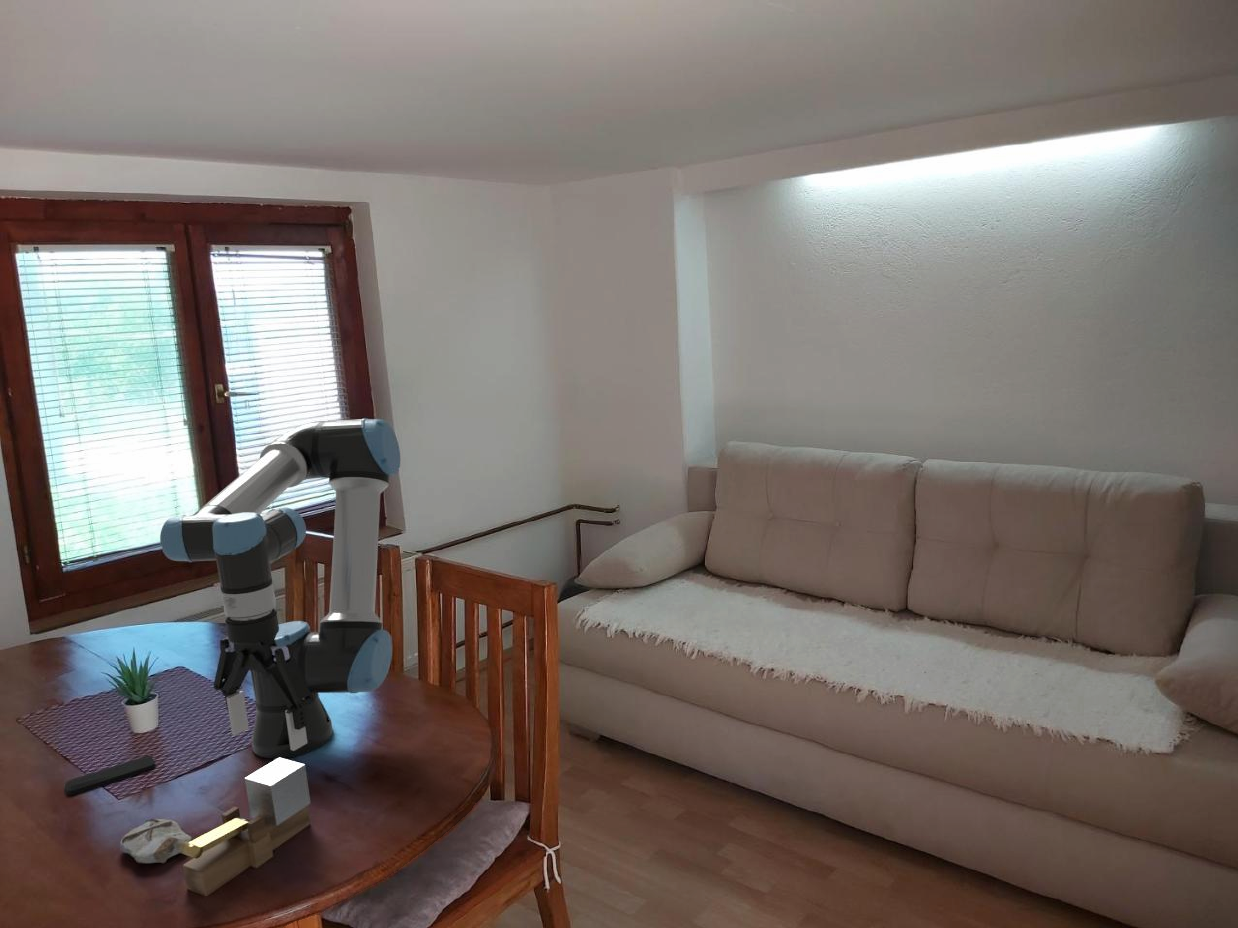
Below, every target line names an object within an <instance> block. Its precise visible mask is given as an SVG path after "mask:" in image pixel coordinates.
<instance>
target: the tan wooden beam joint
mask: <svg viewBox="0 0 1238 928" xmlns="http://www.w3.org/2000/svg"><path fill="white" fill-rule="evenodd" d="M308 806H309V805H307V806H306V807H304V808H303V809H301V810H300V811H298V812H297V813H295V814H294V815H292V816H291V817H289V818H288V819H287V820H285V821H284V822H282V823H281V824H279V825H278V826H275V825H272V824H269V823H266V822H265V820H264V816H262V815H258V816H257V817H255V818H251V820H250V821H249V822H247V828H248V829H246V830H244V831H242V832H240V833H239V834H237V835H235V836H233V837H231V838H229V839H227V840H226V841H224V842H222V843H220V844H218V845H216V846H214V847H213V848H211V849H209V850H207V851H205V852H203V853H202V855H201V856H200V857H199V858H197V859H196V858H193V857H192V858H191V859H190V860H189V861H187V862H185V863H184V864H182V868H183V872H184V874H183V875H184V877H185V885H186V890H189V891H191V892H193V893H196V894H199V895H201V896H204V897H206V898H207V897H208V896H210V895H211V894H213V893H214V892H215V891H217V890H218V889H220V888H222V887H223V886H224V885H225V884H227V883H228V882H230V881H231V880H233V879H234V878H236V877H237V876H238V875H240V874H241V873H242V872H244V871H246V870H247V869H248V868H249V867H253V868H255V869H257V868H260V866H262V865H263V864H265V863H267V862H268V861H269V860H271V858H273V857H274V850H276V849H277V848H278V847H280V846H281V845H282V844H284V843H285V842H288V840H290V839H291V838H293V837H294V836H295V835H297V834H298V833H299V832H301V831H302V830H304V829H305V828H307V827H308V826H310V825H311V819H310V813H309V807H308ZM240 814H241V812H240V808H239V807H238V806H233V807H231V808H230V809H228V810H227V811H225V812H223V813H222V814H221V819H222V825H223V824H225V823H227V822H229V821H231V820H233V818H234V817H235V816H238V817H241V815H240Z"/></svg>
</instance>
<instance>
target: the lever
mask: <svg viewBox="0 0 1238 928" xmlns="http://www.w3.org/2000/svg"><path fill="white" fill-rule="evenodd" d="M249 821H250V820H249V819H246V818H244V817H241V816H240V817H238V816H235V817H234V818H233V820H231V821H229V822H227V823H225V824H223V823H222V824H221V825H220V826H218V827H216V828H214V829H212V830H210V831H208V832H207V833H204V834H202V835H200V836H199V837H197V838H195V839H193V840H191V842H189V843H188V842H184V843H182V844H181V845H180V847H179V852H180V853H179V854H182V855H185V856H188V857H190V858H192V859H193V858H196V859H197V858H199V857H200V856H201V855H202V853H203V852H205V851H207V850H209V849H211V848H213V847H214V846H216V845H218V844H220V843H222V842H224V841H226V840H227V839H229V838H231V837H233V836H235V835H237V834H239V833H240V832H242V831H244V830H246V829H248V828H247V822H249Z"/></svg>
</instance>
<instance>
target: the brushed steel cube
mask: <svg viewBox="0 0 1238 928" xmlns="http://www.w3.org/2000/svg"><path fill="white" fill-rule="evenodd" d="M308 783H309V782H308V776H307V771H306V764H305V763H301V762H297V761H295V760H290V759H288V758H280V757H279V758H277V759H273V761H271V762H269V763H268V764H266V765H264V766H263V767H260V768H259V769H257V770H256V771H254V772H252V773H251V774H249V775H248V776H246V777H244V784H245V790H246V795H247V802H248V809H249V815H250V818H251V819H254V818H255V817H257V816H258V815H262V816H264V820H265V822H266V823H269V824H272V825H275V826H278V825H279V824H281V823H282V822H284V821H285V820H287V819H288V818H289V817H291V816H292V815H294V814H295V813H297V812H298V811H300V810H301V809H303V808H304V807H306V806H307V805H308V806H309V805H310V804H311V797H310V789H309V784H308Z"/></svg>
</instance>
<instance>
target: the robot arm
mask: <svg viewBox="0 0 1238 928" xmlns="http://www.w3.org/2000/svg"><path fill="white" fill-rule="evenodd" d="M400 467H401V451H400V447H399V441H398V438H397V435H396V433H395V431H394V429H393V427H392V426H391V425H390V423H389V422H387V421H386V420H384V419H381V418H373V419H372V418H371V419H370V418H366V417H365V418H362V419H361V418H360V419H342V420H327V421H325V420H319V421H313V422H312V421H311V422H308V423H305V424H302V425H300V426H298V427H295V428H293V429H291V430H289V431H287V432H286V433H284V434H281V436H279V437H277V438H275V439H274V440H273V441H271V442H270V443H269V444H268V445H267V446H265V447H264V448H263V449H262V451H261V453H260V455H259V458H258V460H257V461H256V462H254V463H253V464H252V465H251V466H250V467H249V468H247V469H246V470H244V472H243V473H241V474H240V475H239V476H237V477H236V478H235V479H234V480H233V481H232V482H230V483H229V484H228V485H226V487H225V488H223V489H222V490H221V491H219V493H217V494H216V495H215V496H214V497H212V498H211V499H210V500H209V501H208V502H207V503H205V504H204V505H203V506H202V507H201V508H199V510H197V511H196V512H195V513H193V514H191V515H185V514H183V515H180V516H173V517H169V518H168V519H167V520H166V521H165V522H164V523H163V525H162V528H161V529H160V530H161V531H160V535H159V543H160V546H161V548H162V549H161V550H162V552H163V555H164V556H166V558H167V559H169V560H171V561H174V562H175V561H176V562H189V563H193V562H204V561H215V562H216V567H217V573H218V579H219V583H220V591H221V596H222V604H223V610H224V611H223V613H224V615H225V616H226V619H225V621H224V622H225V628H226V634H227V637H225V638H222V639H221V640H220V641H219V644H220V645H219V647H220V653H219V654H220V655H219V659H218V664H217V669H216V674H215V677H214V681H213V689H214V690H215V691H221V694H222V696H224V697H225V698H224V699H225V704H226V705H225V706H226V710H227V713H228V717H229V724H230V729H231V731H230V732H231V735H232V736H237V735H239V734H241V733H243V732H245V731H246V730H248V729H249V728H250V727H249V721H248V713H247V707H246V700H245V694H244V693H245V692H244V690H241V689H243V686H242V684H243V682H244V681H245V679H246V676H248V675H247V674H248V673H249V671H250V677H251V685H252V689H253V695H254V701H255V703H254V704H255V707H256V708H255V710H256V712H255V718H254V724H253V725H254V726H253V731H252V733H251V738H250V739H251V746H252V751H253V752H254V754H255V755H256V756H257V757H261V758H265V759H273V760H276V759H277V758H279V757H280V758H283V759H288V758H292V757H298V756H300V755H304V754H307V753H309V752H312V751H314V750H317V749H318V748H320V747H321V746H323V745H325V744H326V743H327V742H328V741H329V740H330V739H331V738H332V735H333V733H334V732H333V731H334V730H333V723H332V719H331V717H330V715H329V713H328V712H327V709H326V708H325V706H324V704H323V702H322V700H321V699H320V696H319V695H320V694H327V693H328V694H330V693H331V694H337V693H338V694H341V693H343V694H344V693H348V694H349V693H350V694H358V693H367V692H372V691H373V692H374V691H375V690H377V689H378V688H380V686H381V685H382V684H383V682H385V679H386V678H387V675H388V674H389V670H390V666H391V663H392V662H391V661H392V656H393V644H392V643H393V642H392V640H393V639H392V637H391V634H390V633H389V631H387V630H385V629H383V621H382V620H381V619H380V617H379V616H378V615H377V614H376V591H377V570H378V555H379V553H378V551H379V548H378V547H379V532H380V531H379V530H380V529H379V528H380V512H381V511H380V509H381V494H382V493H383V492H384V491H385V490H386V489H387V488H388V487H389V483H390V482H389V481H390V479H389V478H390V477H394V476H395V475H397V474H398V473H399V471H400V469H399V468H400ZM311 479H328V485H329V486H330V487H331V488H332V489H333V490H334V491H335V506H334V507H335V508H334V509H335V510H334V523H333V524H334V525H333V526H334V527H333V528H334V529H333V540H332V541H333V543H332V560H331V561H332V562H331V579H330V594H329V610H328V611H329V612H328V613H327V615H325V616H324V617H323V618H322V619H321V620H320V625H319V631H311V626H309V623H308V622H307V621H303V620H293V621H287V622H283V623H280V624H279V619H278V612H277V610H276V609H274V608H276V607H277V606H276V605H277V602H276V596H275V589H274V583H273V582H274V581H273V577H272V570H271V568H272V567H271V564H273V563H274V562H276V561H278V560H279V559H281V558H283V557H285V556H286V555H289V554H292V552H294V550H296V548H298V547H299V546H300V545H301V544H302V543H303V542H304V540H305V539H306V538H305V537H306V535H307V526H306V523H305V520H304V519H303V516H302V515H301V514H300V513H299V512H298V511H296V510H295V509H293V508H289V507H282V506H281V507H278V508H273V509H271V510H268V511H267V512H264V511H265V510H266V509H267V508H268V507H269V506H271V504H273V502H274V501H276V499H278V497H280V495H282V494H283V493H284V492H285V491H286V490H287V489H289V488H294V487H297V486H298V485H300V484H301V483H302V482H304V481H306V480H311Z"/></svg>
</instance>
